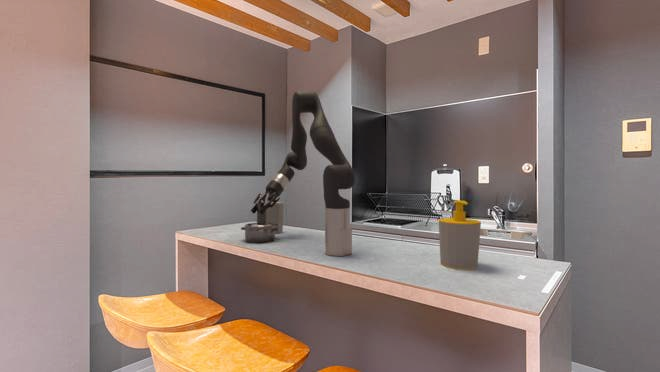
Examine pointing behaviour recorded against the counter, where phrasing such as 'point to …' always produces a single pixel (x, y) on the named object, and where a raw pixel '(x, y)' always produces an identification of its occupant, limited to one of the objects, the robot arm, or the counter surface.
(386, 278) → the counter surface
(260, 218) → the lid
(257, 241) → the pot
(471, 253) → the soap bottle
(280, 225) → the skincare box
